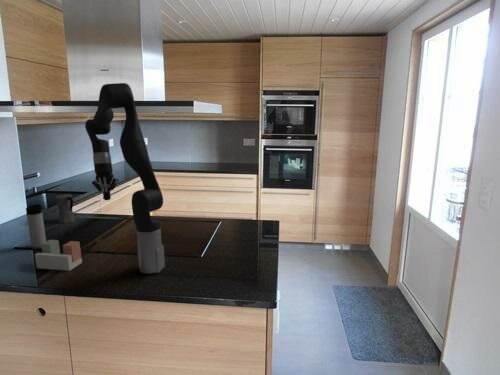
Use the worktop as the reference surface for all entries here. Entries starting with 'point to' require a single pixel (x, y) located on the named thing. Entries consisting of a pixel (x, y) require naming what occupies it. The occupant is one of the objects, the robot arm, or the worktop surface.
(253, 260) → the worktop surface
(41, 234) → the travel mug
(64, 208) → the coffeepot
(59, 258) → the console
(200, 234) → the worktop surface
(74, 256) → the terracotta rectangular block
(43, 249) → the green rectangular block
